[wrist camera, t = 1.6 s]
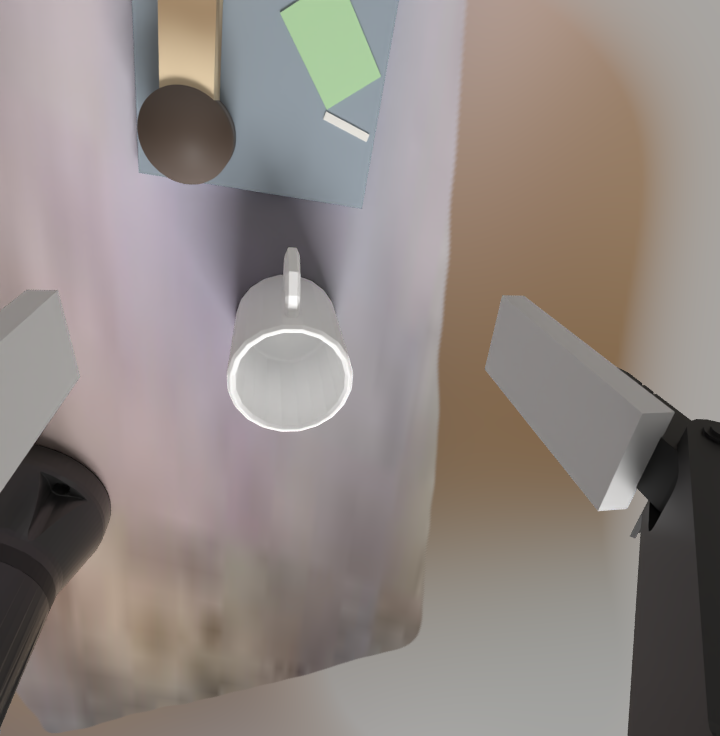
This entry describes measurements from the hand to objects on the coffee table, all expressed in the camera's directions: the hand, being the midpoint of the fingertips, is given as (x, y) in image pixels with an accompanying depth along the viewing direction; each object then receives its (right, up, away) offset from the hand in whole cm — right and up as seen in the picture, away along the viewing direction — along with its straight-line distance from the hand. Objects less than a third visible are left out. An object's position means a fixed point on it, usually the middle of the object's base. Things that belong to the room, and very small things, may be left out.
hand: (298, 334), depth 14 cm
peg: (-8, +18, +13) cm, 23 cm away
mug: (-4, +5, +23) cm, 24 cm away
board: (-4, +19, +15) cm, 24 cm away
